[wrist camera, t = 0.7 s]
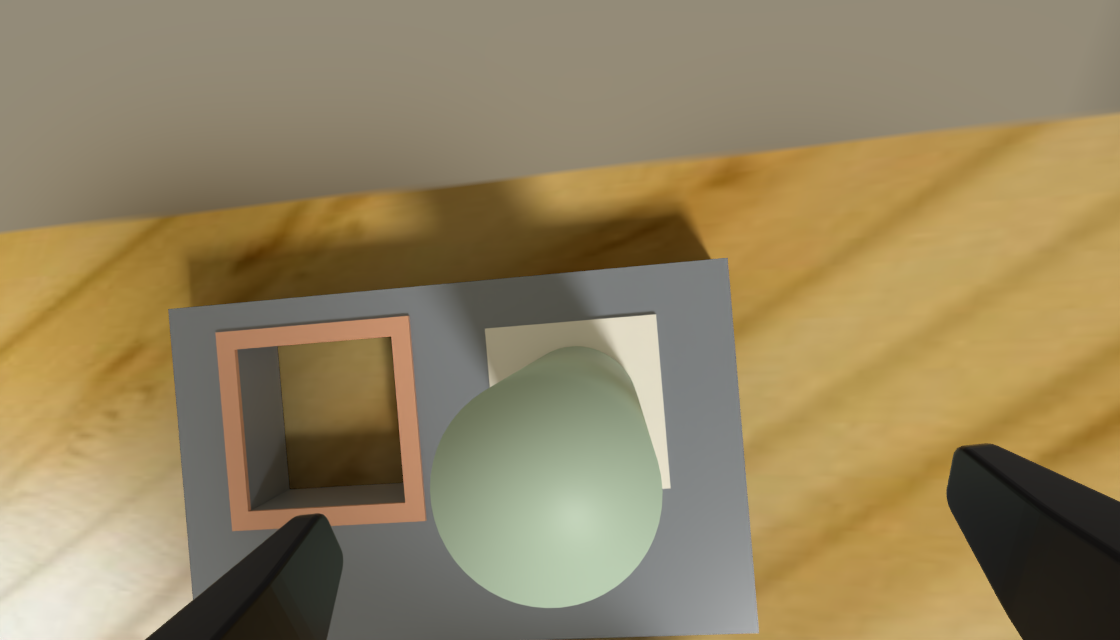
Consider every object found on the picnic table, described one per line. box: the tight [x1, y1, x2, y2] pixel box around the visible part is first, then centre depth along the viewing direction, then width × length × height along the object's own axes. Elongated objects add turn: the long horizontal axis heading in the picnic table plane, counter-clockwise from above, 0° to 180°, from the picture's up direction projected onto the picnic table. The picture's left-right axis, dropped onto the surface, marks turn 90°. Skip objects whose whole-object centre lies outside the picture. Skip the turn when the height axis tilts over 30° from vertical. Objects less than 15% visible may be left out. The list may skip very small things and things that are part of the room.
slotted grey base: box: [168, 258, 759, 640], centre depth 25 cm, size 24×15×3 cm, turn 95°
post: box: [430, 346, 663, 608], centre depth 18 cm, size 5×5×11 cm
